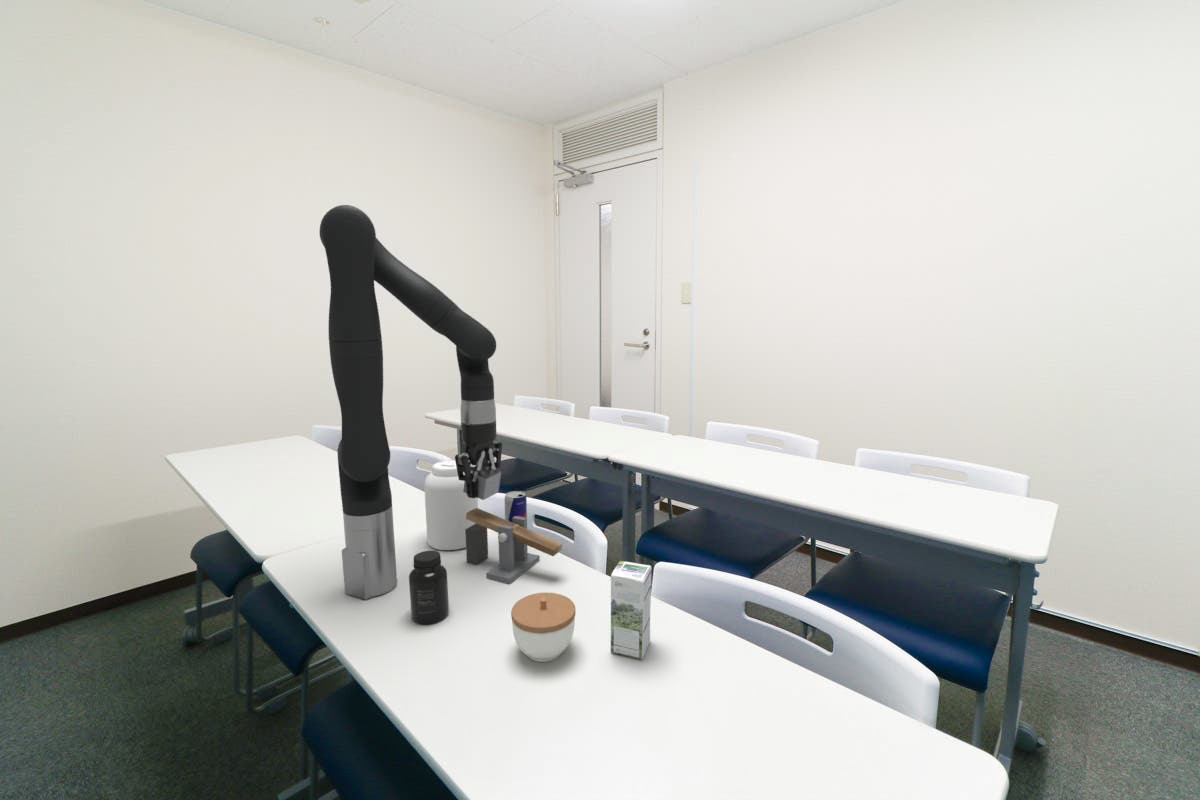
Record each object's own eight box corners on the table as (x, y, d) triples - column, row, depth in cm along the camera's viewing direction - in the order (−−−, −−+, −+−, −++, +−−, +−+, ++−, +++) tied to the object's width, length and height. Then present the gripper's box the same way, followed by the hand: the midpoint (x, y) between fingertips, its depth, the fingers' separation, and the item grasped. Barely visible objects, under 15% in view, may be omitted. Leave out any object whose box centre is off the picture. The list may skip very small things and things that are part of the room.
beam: (553, 556, 113) (554, 549, 113) (465, 518, 122) (466, 512, 121) (561, 549, 116) (562, 543, 116) (475, 513, 125) (476, 507, 124)
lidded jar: (567, 675, 86) (566, 621, 84) (503, 666, 88) (501, 614, 86) (581, 635, 96) (581, 586, 94) (524, 628, 98) (522, 580, 96)
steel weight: (483, 500, 117) (486, 478, 116) (463, 491, 119) (465, 471, 118) (498, 492, 122) (501, 472, 121) (478, 484, 124) (481, 464, 123)
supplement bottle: (456, 610, 104) (454, 551, 102) (431, 629, 98) (428, 567, 96) (429, 602, 107) (425, 545, 105) (403, 619, 101) (399, 559, 99)
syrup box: (650, 641, 94) (652, 563, 92) (642, 661, 89) (643, 579, 86) (619, 634, 96) (620, 558, 94) (609, 654, 91) (609, 574, 88)
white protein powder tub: (417, 541, 134) (412, 464, 131) (459, 526, 143) (456, 453, 140) (446, 556, 126) (442, 474, 123) (489, 539, 135) (486, 462, 132)
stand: (509, 584, 114) (508, 535, 112) (455, 570, 120) (452, 523, 118) (539, 560, 124) (538, 515, 122) (488, 548, 130) (486, 505, 129)
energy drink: (525, 544, 132) (524, 498, 130) (503, 544, 133) (502, 498, 131) (528, 535, 138) (527, 490, 136) (507, 535, 138) (506, 490, 136)
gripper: (484, 412, 126) (487, 481, 129) (442, 423, 113) (446, 500, 116) (511, 414, 123) (513, 486, 126) (471, 427, 110) (474, 506, 113)
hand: (481, 492), depth 121 cm, fingers closed on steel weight, 5 cm apart
